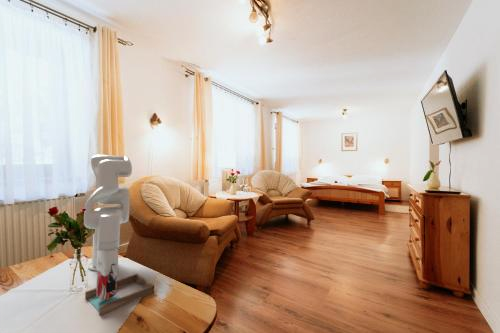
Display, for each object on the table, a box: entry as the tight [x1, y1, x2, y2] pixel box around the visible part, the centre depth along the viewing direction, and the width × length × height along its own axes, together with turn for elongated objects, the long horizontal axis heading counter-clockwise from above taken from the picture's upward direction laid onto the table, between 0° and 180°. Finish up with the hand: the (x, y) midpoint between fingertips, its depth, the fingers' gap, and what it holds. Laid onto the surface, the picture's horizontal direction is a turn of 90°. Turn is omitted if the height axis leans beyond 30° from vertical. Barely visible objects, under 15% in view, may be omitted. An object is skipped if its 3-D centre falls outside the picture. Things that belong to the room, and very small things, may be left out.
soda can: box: [95, 271, 118, 300], centre depth 93 cm, size 7×7×12 cm
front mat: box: [87, 293, 121, 313], centre depth 93 cm, size 13×9×1 cm
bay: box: [84, 273, 155, 317], centre depth 97 cm, size 16×21×3 cm
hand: (106, 287), depth 93 cm, fingers closed on soda can, 6 cm apart
